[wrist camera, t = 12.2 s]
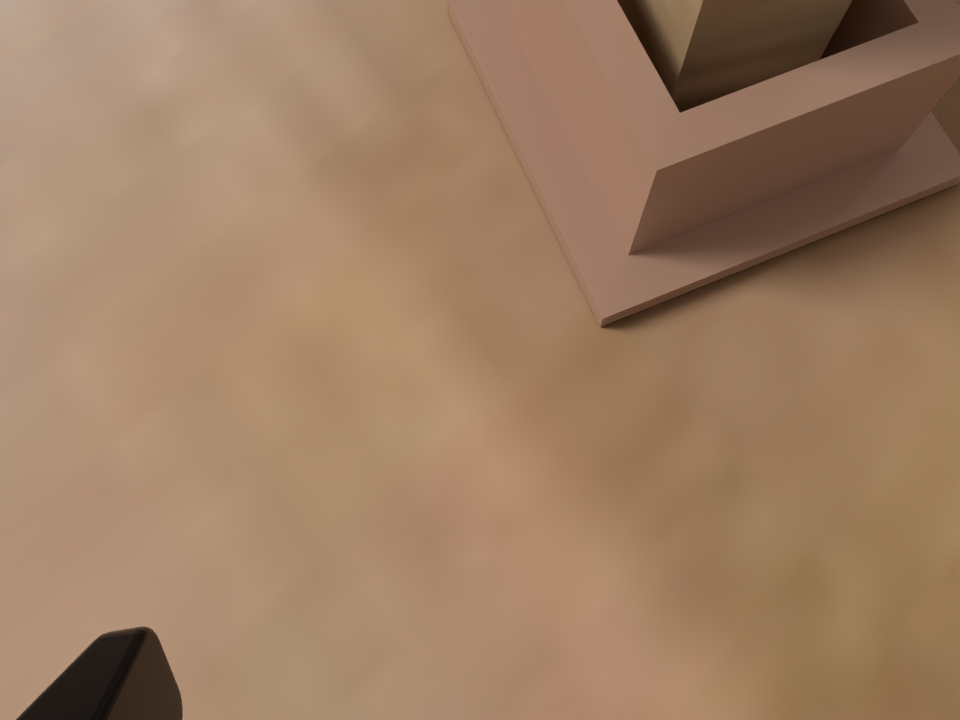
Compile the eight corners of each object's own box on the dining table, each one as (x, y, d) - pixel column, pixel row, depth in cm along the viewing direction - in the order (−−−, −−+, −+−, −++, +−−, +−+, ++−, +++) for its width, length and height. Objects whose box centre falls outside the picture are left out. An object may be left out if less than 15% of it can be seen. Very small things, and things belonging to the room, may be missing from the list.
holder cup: (959, 183, 22) (1074, 71, 17) (599, 327, 21) (626, 246, 17) (771, -103, 25) (829, -261, 20) (447, 12, 24) (436, -128, 19)
